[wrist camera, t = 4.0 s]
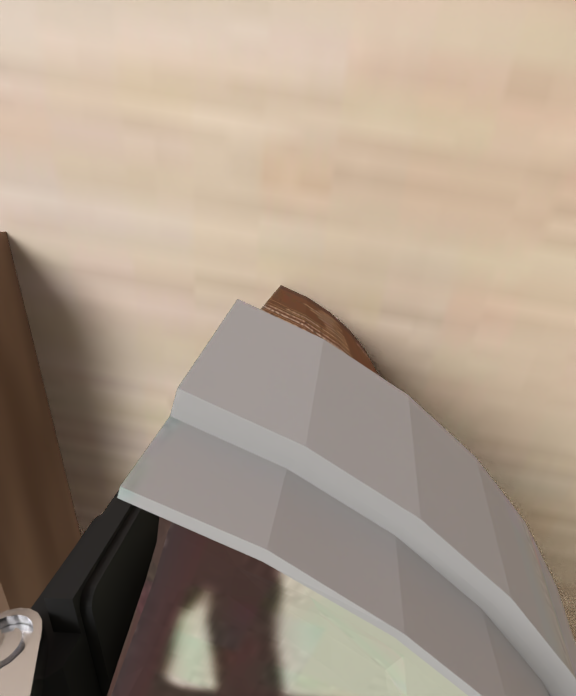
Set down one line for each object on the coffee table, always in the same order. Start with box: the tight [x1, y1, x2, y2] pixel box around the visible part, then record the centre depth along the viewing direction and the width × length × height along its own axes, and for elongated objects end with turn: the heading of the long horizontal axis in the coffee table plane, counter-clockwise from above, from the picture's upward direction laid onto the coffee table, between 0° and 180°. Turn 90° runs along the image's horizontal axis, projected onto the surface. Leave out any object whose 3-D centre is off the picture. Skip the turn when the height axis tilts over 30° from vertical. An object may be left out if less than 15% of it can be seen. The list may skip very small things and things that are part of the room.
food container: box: [107, 286, 576, 696], centre depth 9 cm, size 12×6×10 cm, turn 160°
